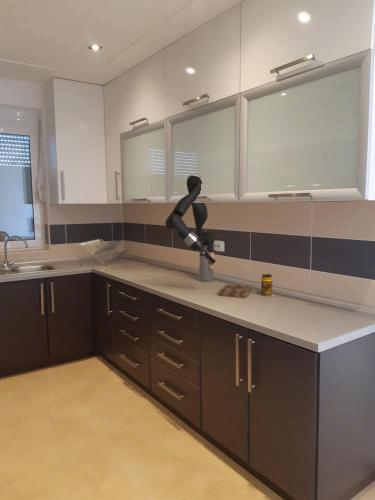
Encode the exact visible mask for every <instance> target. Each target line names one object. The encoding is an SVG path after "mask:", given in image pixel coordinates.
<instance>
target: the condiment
mask: <svg viewBox="0 0 375 500" xmlns="http://www.w3.org/2000/svg"><path fill="white" fill-rule="evenodd" d="M272 276H273V275H272V274H270V273H263V274H262V276H261V282H260V283H261V286H260V287H261V290H260V291H261V293H258V296H261V297H263V298H267V297H270V298H271V297H275V296H276V295H275V294H273V277H272Z"/></svg>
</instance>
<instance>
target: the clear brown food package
mask: <svg viewBox="0 0 375 500" xmlns="http://www.w3.org/2000/svg"><path fill="white" fill-rule="evenodd" d="M252 288H253V287H252V285H242V284H241V285H239V284H225V285H223V287H221V288H220V289H219V297H228V298H238V299H239V298H243V299H247V298H248V297H249V295H251V294H252Z"/></svg>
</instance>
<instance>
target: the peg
mask: <svg viewBox="0 0 375 500" xmlns="http://www.w3.org/2000/svg"><path fill="white" fill-rule="evenodd" d="M209 255H210V256H211V257H212V258H213V259H215V252H214V251H213V252H209ZM209 255H208V256H209ZM208 270H213V271H214V264H213V263H212V262H211V261H210V260H208Z"/></svg>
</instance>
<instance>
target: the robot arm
mask: <svg viewBox="0 0 375 500" xmlns="http://www.w3.org/2000/svg"><path fill="white" fill-rule="evenodd" d="M197 176H198V175H189V176H188V177H187V178H186V188H187V191H188V194H186V195H185V196H183V197H181V198H180V199H179V200H178V202H177V204H176V205H175V206H174V208H173V210H171V213H170V214H169V215H168V216H167V218H166V220H165V223H164V224H165V227H166V228H167V229H170V230H174V229H176V230H177V235H178V236H179V238H180V239H182V240H183V241H184V243H185V244H186V245H187V246H188V247H189V248H190V249H191V250H192V251H193V252H196V251H198V252H199V266H198V281H199V282H212V281H214V269H213V270H208V260H210V261H211V262H212V263H213V265H214V264H215V263H216V259H215V258H214V259H213V258H212V257H211V256H210V255H209V252H214V239H215V237H214V235H215V234H214V232H212V231H203V230H202V229H203V226H204V225H205V223H206V221H207V220H208V217H209V214H208V213H209V212H208V208H207V206H206V203H205V202H204V203H193V202H194V201H195V200H196V198H197V196H198V195H199V194H200V191H201V184H202V181H201V179H200V178H199V177H197ZM200 195H201V194H200ZM200 195H199V196H200ZM190 207H192V208H191V209H192V216H193V220H194V224H195V233H196V234H195V233H194V232H193V231H192V230H191V229H190V228H189V227H188V226H187V225H186V223H185V222H184V220H183V217H184V216H185V214H186V213H187V211H188V209H189V208H190ZM205 246H207V248H206V247H205ZM208 255H209V256H208Z"/></svg>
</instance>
